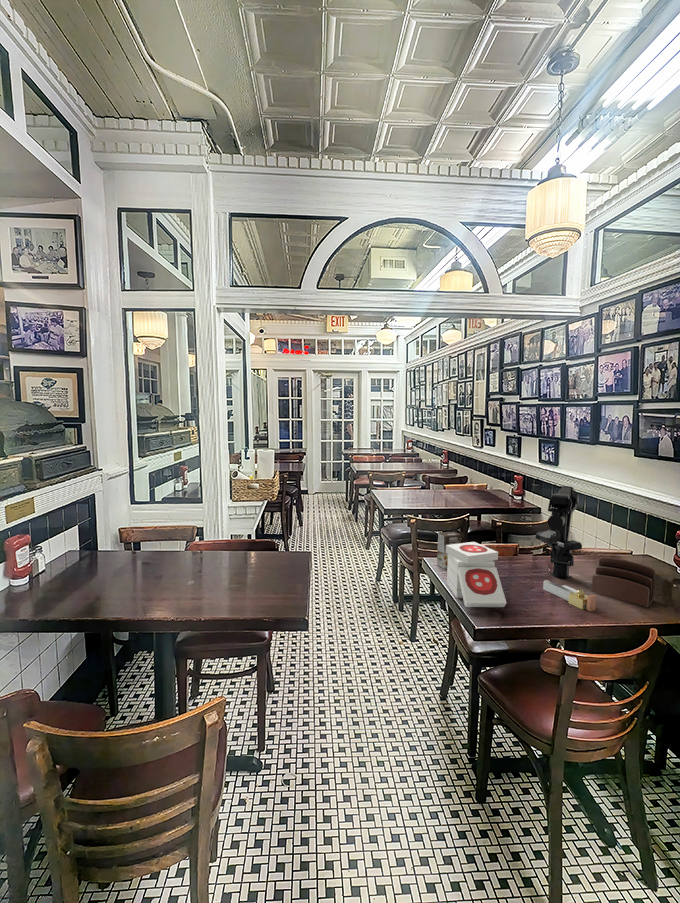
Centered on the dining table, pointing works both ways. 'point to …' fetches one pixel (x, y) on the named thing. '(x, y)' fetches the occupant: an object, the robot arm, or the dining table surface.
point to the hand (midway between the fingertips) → (556, 560)
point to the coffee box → (444, 540)
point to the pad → (570, 588)
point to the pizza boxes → (474, 575)
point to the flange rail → (565, 593)
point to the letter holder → (624, 581)
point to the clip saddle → (578, 599)
